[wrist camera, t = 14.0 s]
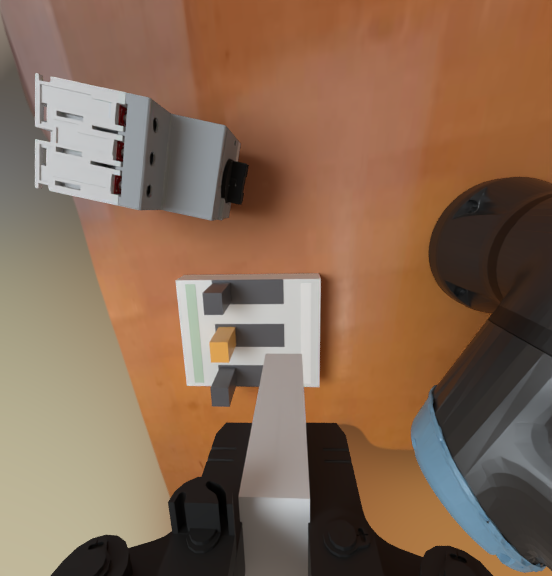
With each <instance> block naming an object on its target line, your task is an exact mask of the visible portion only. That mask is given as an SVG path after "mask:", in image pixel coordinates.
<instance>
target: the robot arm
mask: <svg viewBox="0 0 552 576" xmlns="http://www.w3.org/2000/svg"><path fill="white" fill-rule="evenodd" d="M429 263H430V267H431V271H432V274H433V276H434V278H435V280H436V282H437V284H438V285H439V286H440V288H441V289H442V290H443V291H444V292H445V293H446V294H447V295H448V296H450V297H451V298H453V299H454V300H456V301H458V302H459V303H461V304H463V305H465V306H467V307H469V308H471V309H474V310H478V311H482V312H487V313H493V314H492V315H491V316H490V317H489V320H488V319H487V321H486V322H485V324H484V325H483V326H482V328H481V329H480V330H479V332H478V333H477V334H476V336H475V337H474V338H473V340H472V341H471V342H470V344H469V345H468V346H467V347H466V349H465V350H464V351H463V353H462V354H461V355H460V357H459V358H458V359H457V360H456V362H455V363H454V364H453V366H452V367H451V368H450V370H449V371H448V372H447V373H446V375H445V376H444V377H443V379H442V380H441V381H440V383H439V384H438V385H434V386H433V387H432V388H431V390H430V392H429V396H428V399H427V400H426V402H425V403H424V405H423V406H422V408H421V409H420V411H419V412H418V414H417V415H416V417H415V418H414V421H413V423H412V428H411V440H412V445H413V448H414V450H415V456H416V459H417V461H418V464H419V466H420V468H421V470H422V472H423V474H424V476H425V478H426V480H427V481H428V483H429V485H430V486H431V488H432V489H433V491H434V493H435V494H436V496H437V497H438V498H439V500H440V501H441V503H442V504H443V505H444V506H445V508H446V509H447V510H448V512H449V513H450V514H451V516H452V517H453V518H454V519H455V520H456V521H457V523H458V524H459V525H460V526H461V527H462V528H463V529H464V531H465V532H466V533H467V534H468V535H469V536H470V537H471V538H472V539H473V540H474V541H476V543H477V544H479V545H480V546H481V547H482V548H483V549H485V551H487V552H488V553H489V554H492V555H495V554H496V555H497V557H498V558H499V559H500V561H501V562H502V563H503V564H505V565H506V566H508V567H510V568H512V569H514V570H517V571H520V572H524V573H525V572H532V571H535V572H538V571H542V570H543V569H544V568H545V567H546V566H547V567H548V568H549V569H550V570H551V571H552V184H551V183H549V182H546V181H543V180H540V179H536V178H529V177H510V178H502V179H495V180H490V181H487V182H483V183H481V184H478V185H476V186H474V187H472V188H470V189H468V190H467V191H465V192H464V193H462V194H461V195H459V196H458V197H457V198H456V199H455V200H454V201H453V202H452V203H451V204H450V205H449V206H448V207H447V208H446V209H445V210H444V212H443V213H442V215H441V216H440V218H439V219H438V221H437V223H436V225H435V227H434V230H433V232H432V236H431V239H430V245H429ZM168 505H169V512H170V519H171V526H172V532H170V533H169V534H167V535H166V536H164V537H162V538H159V539H157V540H154V541H151V542H148V543H144V544H141V545H138V546H134V547H131V548H128V547H127V544H126V542H125V541H124V540H122V539H121V538H120V537H119V536H114V535H103V536H100V537H97V538H93V539H91V540H89V541H87V542H86V543H84V544H82V545H81V546H79V547H78V548H76V549H75V550H74V551H73V552H72V553H71V554H70V555H69V556H68V557H67V558H66V559H65V560H64V561H63V562H62V563H61V564H60V565H59V566H58V568H57V569H56V570H55V571H54V572H53V573H52V575H51V576H493V575H492V574H491V573H490V572H489V571H488V570H487V569H486V568H485V567H484V565H483V564H482V563H481V562H480V561H478V560H477V559H475V558H474V557H472V556H471V555H469V554H468V553H466V552H465V551H462V550H459V549H457V548H454V547H451V546H435V547H433V548H432V549H430V550H428V551H426V553H425V555H424V557H421V556H418V555H415V554H413V553H410V552H407V551H405V550H402V549H399V548H397V547H395V546H393V545H391V544H389V543H387V542H386V541H384V540H383V539H382V538H381V537H379V536H378V535H377V534H376V533H375V532H374V530H373V529H372V528H371V527H370V525H369V524H368V522H367V520H366V518H365V516H364V513H363V510H362V505H361V501H360V496H359V492H358V488H357V483H356V479H355V475H354V470H353V466H352V463H351V457H350V452H349V448H348V444H347V439H346V435H345V434H344V432H343V431H342V430H341V429H340V427H339V426H338V425H337V423H306V418H305V400H304V383H303V365H302V354H265V359H264V365H263V370H262V375H261V380H260V386H259V391H258V396H257V401H256V407H255V412H254V417H253V422H252V423H226V424H225V425H224V426H223V427H222V428H221V429H220V430H219V431H218V432H217V434H216V436H215V439H214V442H213V445H212V449H211V451H210V454H209V457H208V461H207V462H206V465H205V468H204V471H203V474H202V477H197V478H194V479H192V480H190V481H188V482H186V483H184V484H183V485H182V486H181V487H180V488H178V489H177V490H176V491H175V492H174V494H173V495H172V497H171V498H170V500H169V502H168Z"/></svg>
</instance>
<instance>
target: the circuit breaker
mask: <svg viewBox="0 0 552 576" xmlns="http://www.w3.org/2000/svg"><path fill="white" fill-rule="evenodd" d="M44 106H45V107H47V121H44V120H43V119H44ZM35 126H36V127H38V128H41V129H44V130H47V131H51V143H50V142H46V141H41V140H35V188H42V184H46V185H49V186H48V188H49V191H53V192H58V193H62V194H67V195H72V196H76V197H81V198H86V199H90V200H95V201H100V202H104V203H109V204H113V205H118V206H123V207H127V208H132V209H137V210H165V211H170V212H174V213H179V214H183V215H188V216H193V217H197V218H202V219H207V220H223V218H229V213H230V207H231V203H235V204H239V205H241V204H242V201H243V195H244V193H243V190H244V185H245V179H246V177H247V172H248V166H249V165H247V164H245V163H241V162H238V158H239V152H240V146H241V143H240V142H239V141H238V140H237V138H236V137H235V136H234V135H233V134H232V132H231V131H230V130H229V129H228V128H227V127H226V126H225V125H220V124H216V123H211V122H207V121H202V120H197V119H193V118H188V117H184V116H179V115H174V114H171V113H169V112H168V111H167V110H165V109H164V108H163V107H161V106H160V105H159V104H158V103H156V102H155V101H154V100H152V99H151V98H148V97H144V96H139V95H134V94H130V93H125V92H121V91H116V90H111V89H107V88H102V87H97V86H93V85H88V84H84V83H79V82H74V81H70V80H65V79H61V78H56V77H51V81H50V82H45V81H43V76H42V75H40V74H37V73H35ZM43 149H46V150H47V151H46V164H44V163H43Z"/></svg>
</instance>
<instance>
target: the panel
mask: <svg viewBox="0 0 552 576" xmlns="http://www.w3.org/2000/svg"><path fill="white" fill-rule="evenodd" d="M212 283H230V291H231V303H230V305H229V307H228V308H227V310H226V311H225V313H224V314H223V315H204V307H203V295H202V293H203V292H204V291H205V290H206V289H207V288H208V287H209V286H210V285H211V284H212ZM176 289H177V298H178V307H179V317H180V326H181V335H182V344H183V353H184V363H185V372H186V381H187V386H212V383H213V381H214V379H215V377H216V375H217V372H218V370H219V368H235V370H236V386H245V387H259V386H260V380H261V375H262V370H263V365H264V359H265V354H302V365H303V383H304V387H319V377H320V300H321V278H320V275H319V273H303V274H220V275H183V276H182V277H180V278H179V279H177V280H176ZM218 327H235V333H236V347H235V349H234V352H233V354H232V357H231V359H230V362H229V363H211V357H210V345H209V342H210V340H211V339H212V337H213V335H214V334H215V332H216V331H217V329H218Z"/></svg>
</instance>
